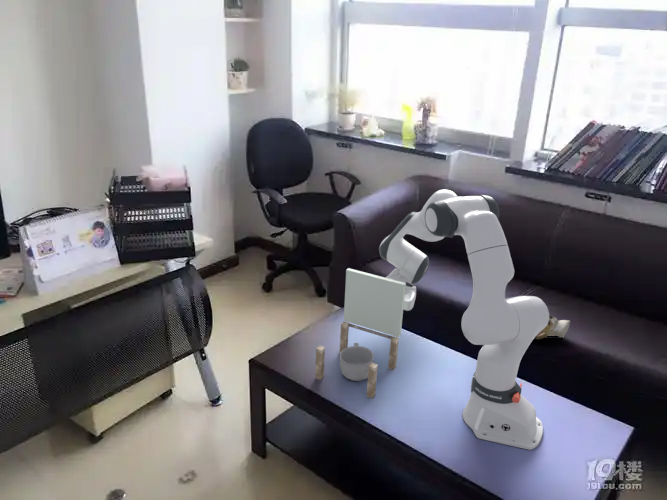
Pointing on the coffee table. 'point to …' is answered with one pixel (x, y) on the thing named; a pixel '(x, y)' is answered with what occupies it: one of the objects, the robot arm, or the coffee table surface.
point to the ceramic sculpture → (554, 328)
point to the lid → (374, 302)
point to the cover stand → (372, 367)
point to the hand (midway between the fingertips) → (376, 305)
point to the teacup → (356, 362)
